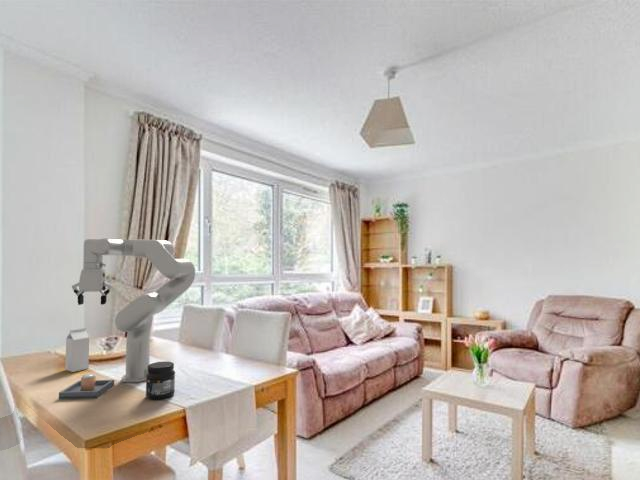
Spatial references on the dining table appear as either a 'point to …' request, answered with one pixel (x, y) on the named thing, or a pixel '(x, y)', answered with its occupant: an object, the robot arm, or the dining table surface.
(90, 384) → the salt shaker
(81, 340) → the milk carton
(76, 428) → the dining table surface
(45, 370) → the dining table surface
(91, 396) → the tray
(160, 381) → the supplement container
